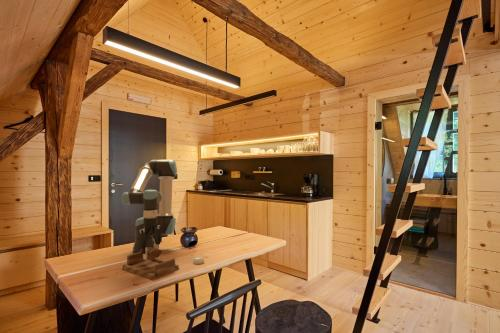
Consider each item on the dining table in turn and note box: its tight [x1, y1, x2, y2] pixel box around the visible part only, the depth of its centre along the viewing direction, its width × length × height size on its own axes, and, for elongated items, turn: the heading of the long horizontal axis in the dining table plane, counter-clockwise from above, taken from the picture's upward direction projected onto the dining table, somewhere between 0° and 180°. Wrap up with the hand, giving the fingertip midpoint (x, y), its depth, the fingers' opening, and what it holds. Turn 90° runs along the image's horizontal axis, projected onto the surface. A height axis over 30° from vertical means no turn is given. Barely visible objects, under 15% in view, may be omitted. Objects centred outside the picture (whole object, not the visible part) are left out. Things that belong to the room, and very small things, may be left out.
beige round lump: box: [192, 255, 205, 265], centre depth 163 cm, size 6×6×3 cm
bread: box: [141, 247, 162, 259], centre depth 154 cm, size 6×19×6 cm, turn 41°
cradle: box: [121, 252, 180, 281], centre depth 152 cm, size 27×18×7 cm, turn 57°
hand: (150, 257), depth 152 cm, fingers closed on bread, 6 cm apart
